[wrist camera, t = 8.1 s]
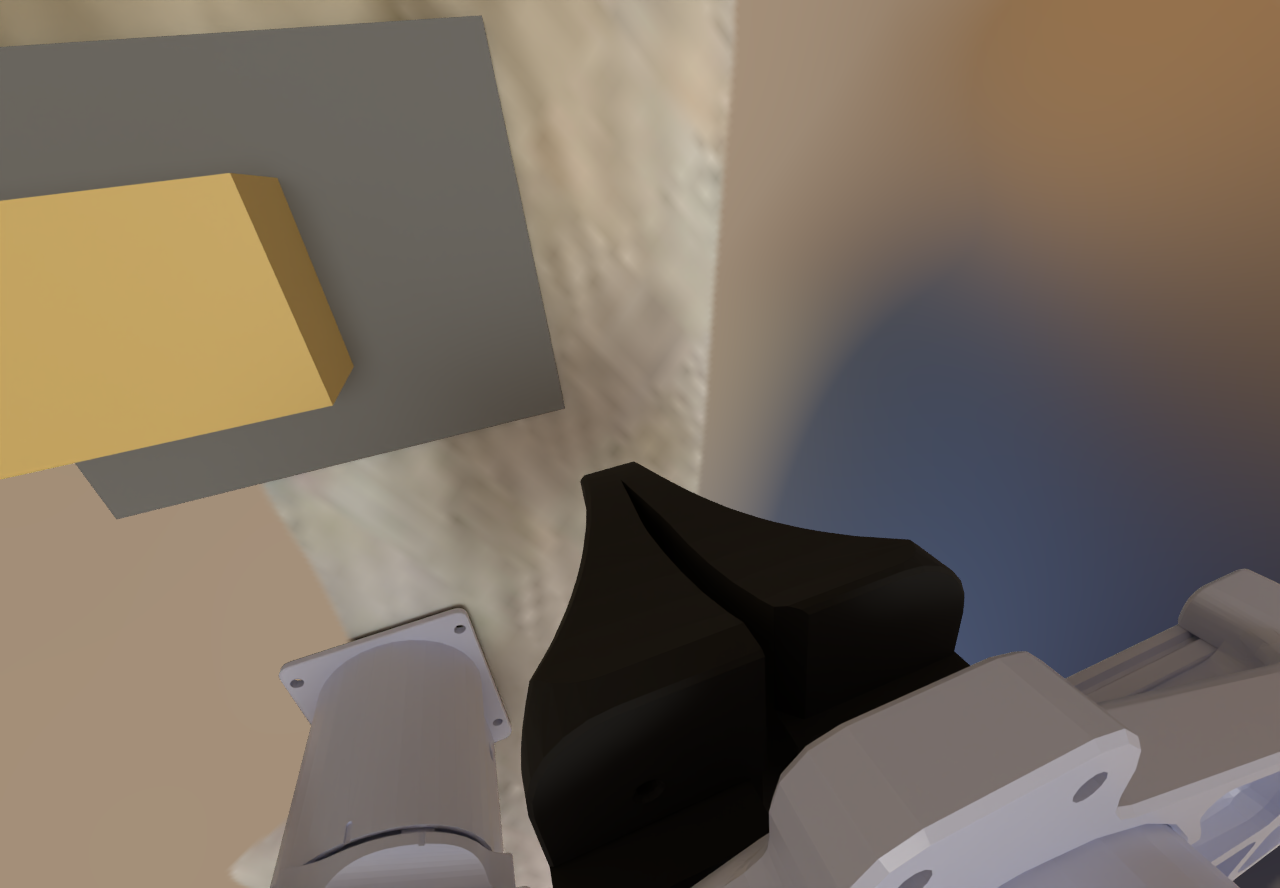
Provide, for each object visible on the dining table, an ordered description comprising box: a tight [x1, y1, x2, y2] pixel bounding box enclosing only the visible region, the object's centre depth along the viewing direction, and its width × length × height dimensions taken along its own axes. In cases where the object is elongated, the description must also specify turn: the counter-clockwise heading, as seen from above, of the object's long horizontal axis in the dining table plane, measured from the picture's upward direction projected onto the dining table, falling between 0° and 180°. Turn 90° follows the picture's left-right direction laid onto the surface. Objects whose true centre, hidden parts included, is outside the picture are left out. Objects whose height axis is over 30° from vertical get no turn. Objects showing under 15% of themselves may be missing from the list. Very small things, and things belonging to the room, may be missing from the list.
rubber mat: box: [0, 16, 565, 519], centre depth 17 cm, size 13×16×1 cm
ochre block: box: [0, 173, 354, 479], centre depth 14 cm, size 6×4×9 cm
